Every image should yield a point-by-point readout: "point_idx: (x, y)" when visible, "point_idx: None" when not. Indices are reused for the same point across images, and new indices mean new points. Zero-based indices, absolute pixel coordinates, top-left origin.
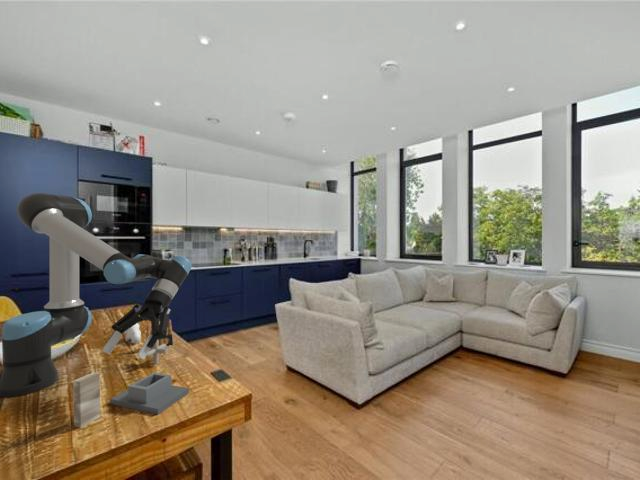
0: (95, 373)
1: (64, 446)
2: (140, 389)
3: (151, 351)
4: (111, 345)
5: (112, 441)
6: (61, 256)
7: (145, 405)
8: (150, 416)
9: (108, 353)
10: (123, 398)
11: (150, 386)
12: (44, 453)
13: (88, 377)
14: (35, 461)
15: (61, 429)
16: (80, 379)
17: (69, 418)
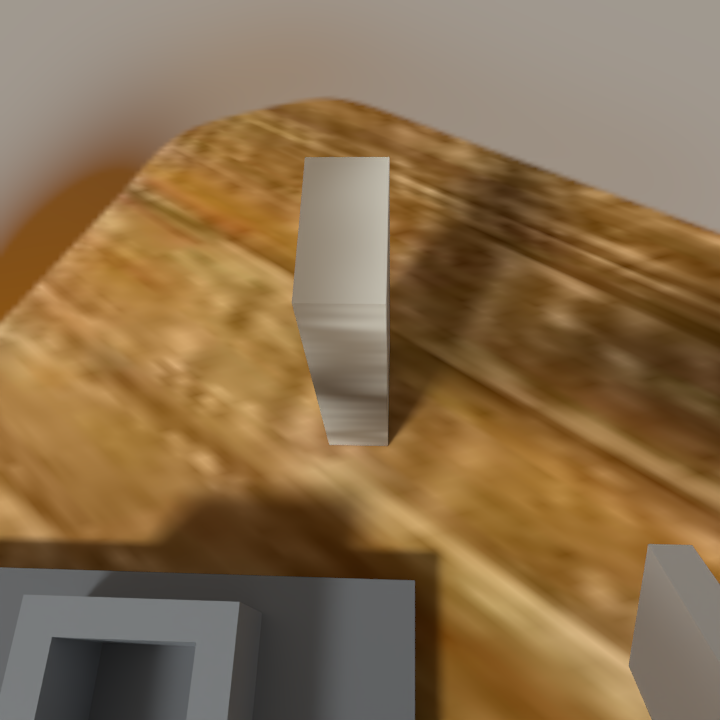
0: (338, 298)
1: (273, 232)
2: (95, 598)
3: None
4: (687, 707)
5: (72, 312)
6: None
7: (65, 579)
8: (7, 539)
9: (632, 642)
10: (314, 615)
11: (20, 655)
12: None
13: (319, 226)
14: (298, 151)
15: (429, 306)
16: (353, 186)
17: (501, 384)
